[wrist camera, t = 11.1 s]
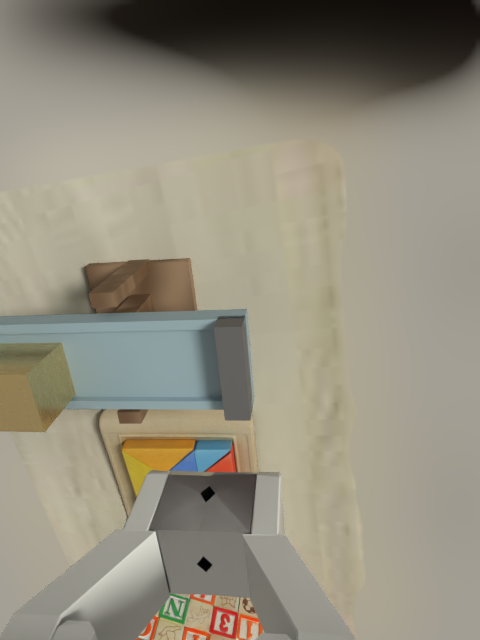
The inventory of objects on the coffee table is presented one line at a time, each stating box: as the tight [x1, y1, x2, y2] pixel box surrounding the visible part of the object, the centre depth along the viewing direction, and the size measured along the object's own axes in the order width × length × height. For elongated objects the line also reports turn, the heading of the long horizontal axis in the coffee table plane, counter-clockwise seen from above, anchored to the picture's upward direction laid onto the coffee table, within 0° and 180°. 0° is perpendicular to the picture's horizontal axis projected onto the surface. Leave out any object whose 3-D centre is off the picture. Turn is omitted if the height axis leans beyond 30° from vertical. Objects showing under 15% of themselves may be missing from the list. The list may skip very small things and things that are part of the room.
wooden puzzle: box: [99, 409, 258, 517], centre depth 50 cm, size 18×19×4 cm
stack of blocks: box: [136, 594, 265, 640], centre depth 53 cm, size 21×6×12 cm, turn 75°
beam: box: [0, 309, 254, 421], centre depth 35 cm, size 22×8×3 cm, turn 95°
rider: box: [0, 343, 76, 432], centre depth 34 cm, size 6×5×5 cm
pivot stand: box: [85, 258, 197, 424], centre depth 39 cm, size 10×12×9 cm
